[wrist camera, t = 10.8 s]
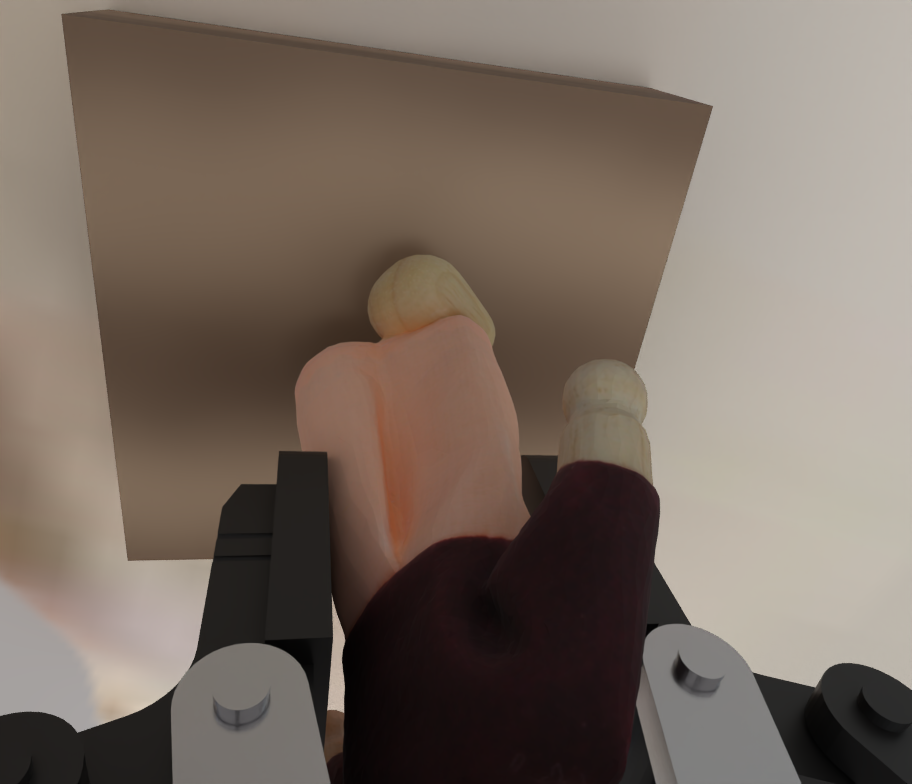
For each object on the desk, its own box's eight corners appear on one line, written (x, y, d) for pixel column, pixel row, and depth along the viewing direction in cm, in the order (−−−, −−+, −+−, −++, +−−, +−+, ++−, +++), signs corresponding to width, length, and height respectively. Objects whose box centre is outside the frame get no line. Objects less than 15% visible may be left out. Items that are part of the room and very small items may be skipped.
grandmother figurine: (361, 170, 12) (816, 1928, 1) (552, 242, 13) (1623, 1386, 2) (247, 506, 15) (70, 1822, 4) (409, 539, 16) (593, 1609, 6)
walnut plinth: (108, 9, 14) (61, 13, 11) (651, 88, 16) (712, 106, 14) (152, 486, 20) (127, 560, 17) (549, 487, 22) (579, 551, 20)
